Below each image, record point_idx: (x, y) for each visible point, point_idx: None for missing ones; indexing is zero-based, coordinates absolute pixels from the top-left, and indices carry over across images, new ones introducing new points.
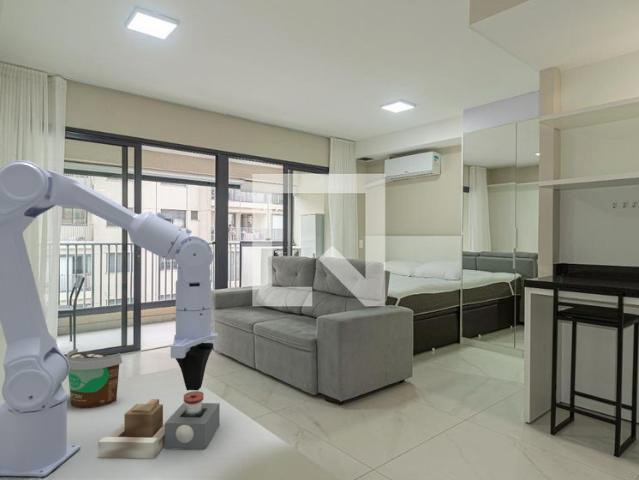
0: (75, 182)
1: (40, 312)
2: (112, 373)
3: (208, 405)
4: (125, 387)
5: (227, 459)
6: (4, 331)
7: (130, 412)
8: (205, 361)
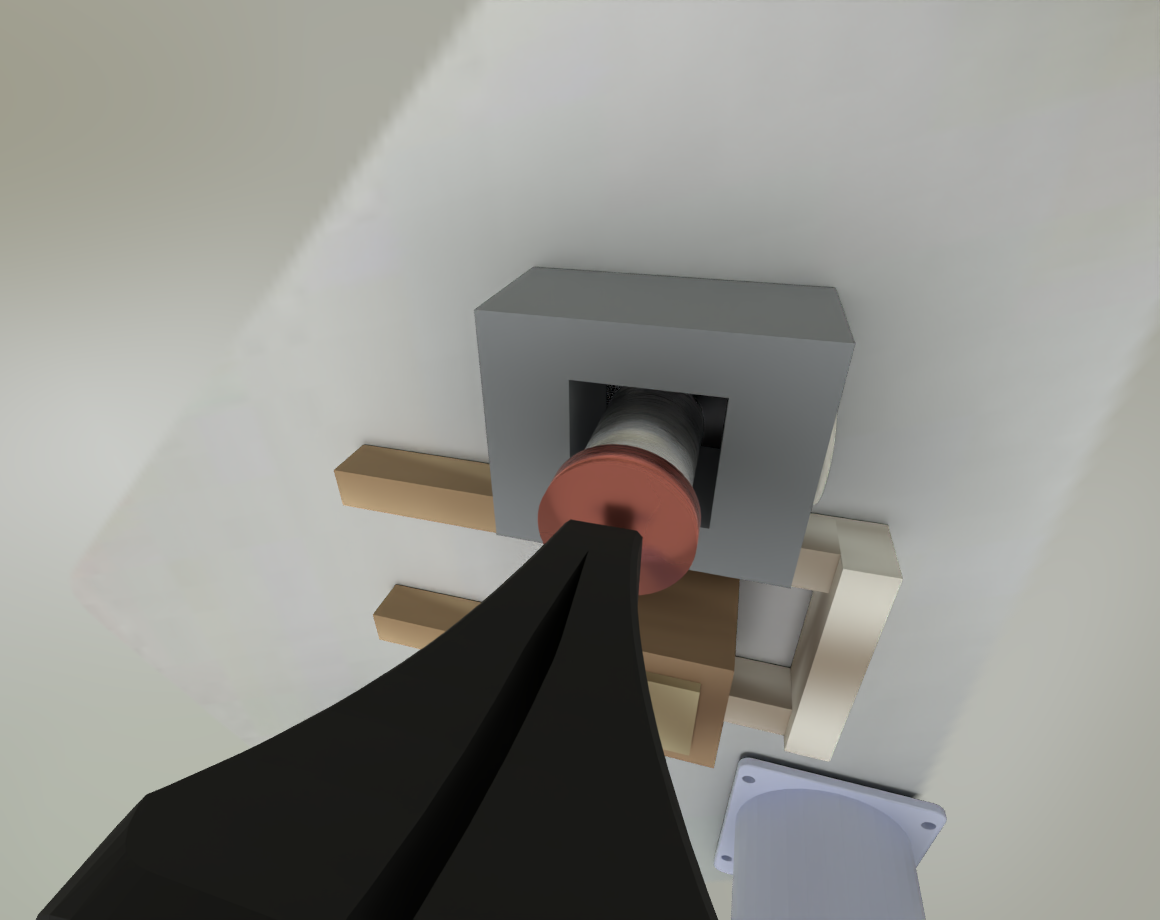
0: None
1: None
2: None
3: (521, 382)
4: (269, 702)
5: (1034, 81)
6: None
7: (694, 750)
8: (475, 719)
